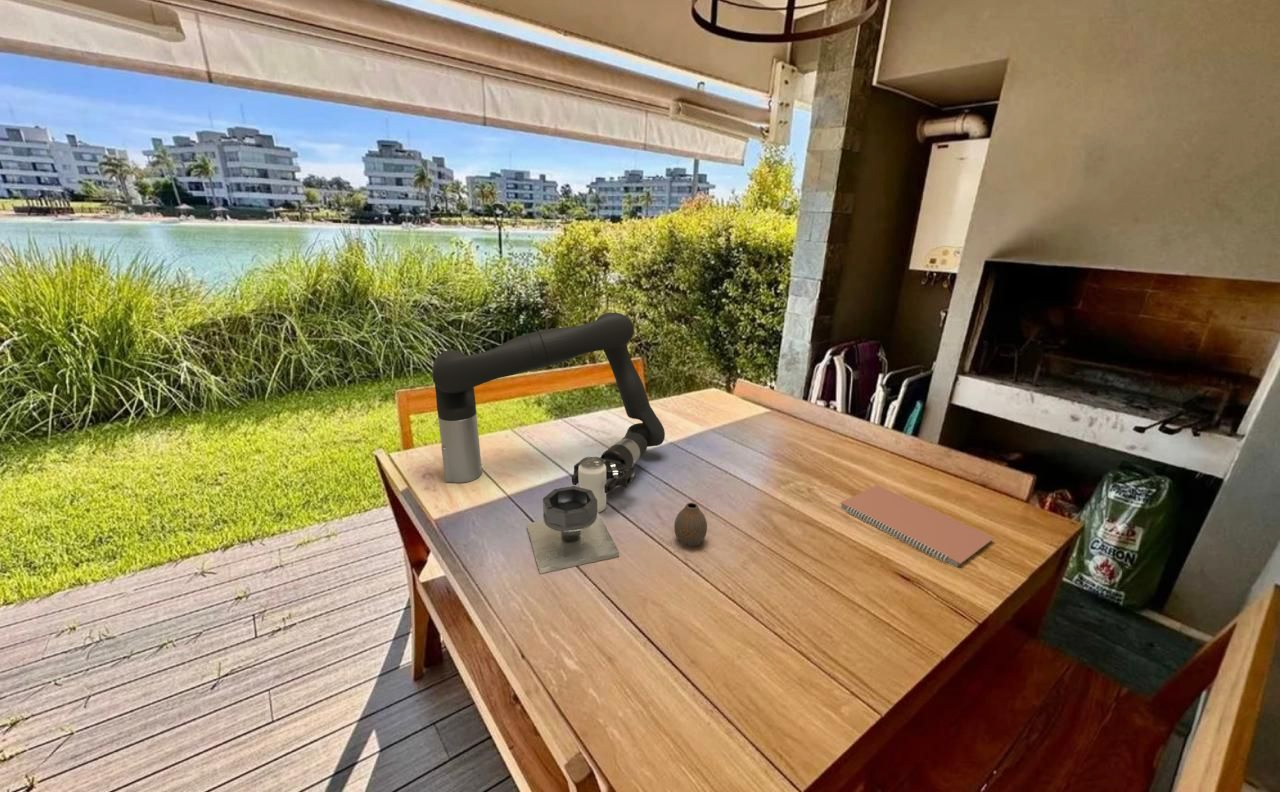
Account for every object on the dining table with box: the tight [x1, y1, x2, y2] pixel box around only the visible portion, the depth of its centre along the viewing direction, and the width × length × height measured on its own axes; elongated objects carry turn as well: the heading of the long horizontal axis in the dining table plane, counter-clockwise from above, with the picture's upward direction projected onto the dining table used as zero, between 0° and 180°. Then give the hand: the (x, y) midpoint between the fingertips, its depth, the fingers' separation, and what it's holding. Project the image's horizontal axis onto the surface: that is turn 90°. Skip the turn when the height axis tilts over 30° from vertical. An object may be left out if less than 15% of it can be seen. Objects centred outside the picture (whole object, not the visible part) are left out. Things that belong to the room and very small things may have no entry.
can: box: [578, 455, 607, 513], centre depth 116 cm, size 6×6×12 cm
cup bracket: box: [526, 485, 620, 575], centre depth 104 cm, size 16×16×10 cm
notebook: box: [839, 484, 995, 568], centre depth 114 cm, size 27×17×2 cm, turn 35°
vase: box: [673, 502, 708, 547], centre depth 105 cm, size 7×7×9 cm
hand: (589, 485), depth 114 cm, fingers open, 8 cm apart
